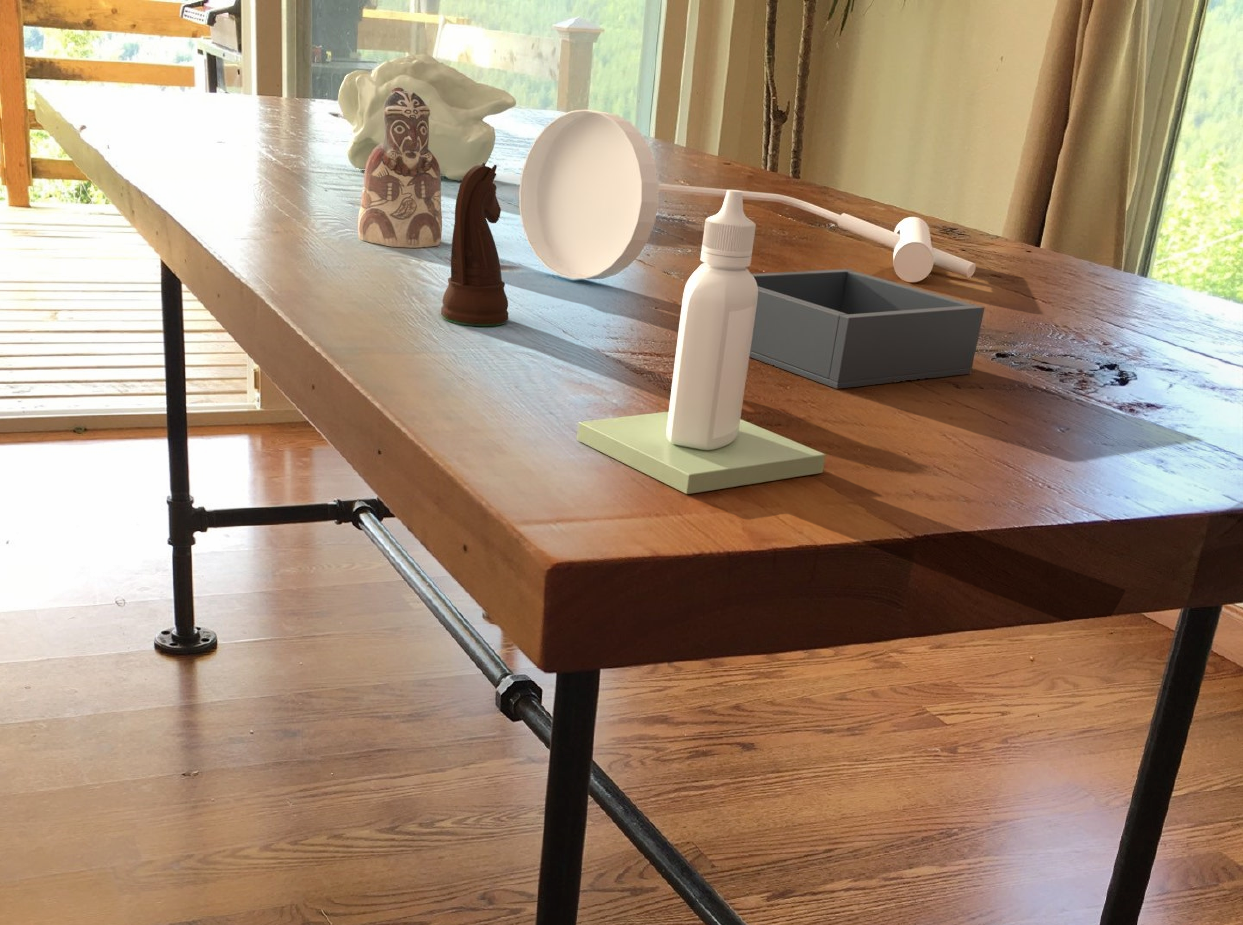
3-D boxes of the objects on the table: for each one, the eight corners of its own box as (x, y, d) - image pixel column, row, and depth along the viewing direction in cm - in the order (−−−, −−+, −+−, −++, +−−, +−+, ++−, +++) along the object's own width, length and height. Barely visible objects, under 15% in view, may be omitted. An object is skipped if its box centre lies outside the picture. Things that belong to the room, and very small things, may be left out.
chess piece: (520, 319, 98) (531, 167, 93) (481, 331, 94) (490, 172, 89) (464, 308, 100) (472, 158, 95) (423, 318, 96) (429, 162, 91)
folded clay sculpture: (458, 233, 167) (522, 111, 165) (453, 220, 155) (522, 87, 152) (322, 154, 165) (384, 30, 163) (305, 134, 152) (372, -1, 150)
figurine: (361, 245, 118) (364, 90, 113) (354, 230, 124) (357, 82, 119) (446, 249, 120) (453, 96, 114) (435, 234, 126) (441, 88, 121)
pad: (823, 473, 72) (826, 454, 71) (686, 494, 67) (689, 474, 67) (708, 423, 78) (710, 406, 78) (576, 440, 73) (578, 421, 73)
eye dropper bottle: (770, 441, 73) (808, 197, 67) (693, 456, 69) (727, 199, 64) (709, 418, 76) (741, 182, 70) (633, 431, 72) (660, 184, 67)
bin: (970, 373, 95) (985, 307, 93) (836, 389, 88) (849, 317, 86) (836, 330, 104) (847, 268, 102) (705, 341, 97) (714, 275, 95)
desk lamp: (770, 178, 98) (1036, 205, 131) (541, 90, 110) (838, 135, 142) (716, 349, 104) (984, 335, 137) (504, 249, 115) (798, 257, 148)
